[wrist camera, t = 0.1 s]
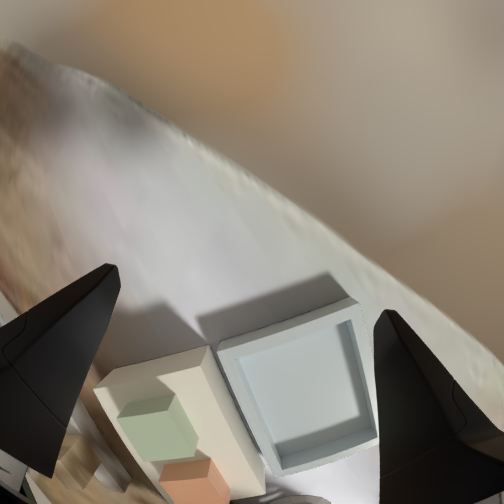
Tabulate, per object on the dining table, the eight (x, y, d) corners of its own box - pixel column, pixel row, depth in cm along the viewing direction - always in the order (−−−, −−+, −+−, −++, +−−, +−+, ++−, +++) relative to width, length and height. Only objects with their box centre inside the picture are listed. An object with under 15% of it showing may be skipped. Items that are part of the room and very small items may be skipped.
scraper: (132, 477, 26) (110, 520, 18) (116, 477, 26) (93, 518, 18) (72, 381, 25) (31, 415, 17) (57, 383, 25) (16, 415, 17)
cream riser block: (264, 465, 25) (265, 494, 21) (178, 478, 26) (170, 505, 21) (209, 344, 25) (200, 365, 20) (114, 368, 25) (92, 389, 20)
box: (379, 426, 25) (388, 439, 23) (273, 462, 25) (274, 478, 23) (349, 296, 24) (359, 302, 22) (220, 341, 25) (216, 351, 22)
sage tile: (199, 437, 21) (194, 456, 18) (151, 444, 21) (143, 461, 18) (175, 393, 20) (167, 410, 18) (127, 402, 20) (115, 418, 18)
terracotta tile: (230, 489, 21) (228, 507, 18) (186, 494, 21) (182, 511, 19) (211, 458, 21) (207, 477, 18) (165, 464, 21) (158, 481, 18)
